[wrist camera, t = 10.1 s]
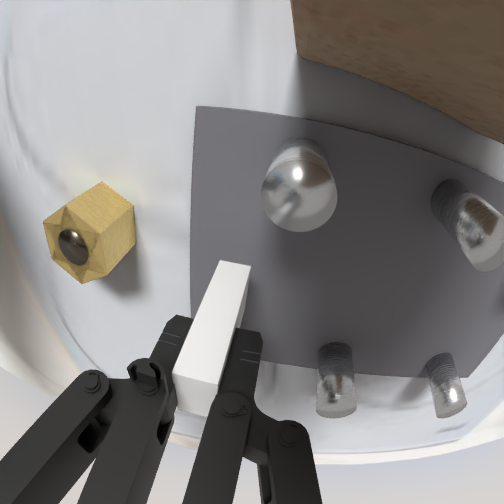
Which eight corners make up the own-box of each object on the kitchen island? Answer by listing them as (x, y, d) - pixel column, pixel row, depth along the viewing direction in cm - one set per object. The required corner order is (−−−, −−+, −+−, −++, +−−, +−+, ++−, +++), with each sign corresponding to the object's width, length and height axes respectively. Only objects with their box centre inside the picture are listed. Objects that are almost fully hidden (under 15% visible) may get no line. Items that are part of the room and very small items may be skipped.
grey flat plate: (193, 341, 21) (192, 345, 21) (199, 105, 12) (196, 106, 12) (466, 374, 19) (467, 377, 19) (562, 215, 11) (565, 218, 10)
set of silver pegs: (202, 340, 20) (183, 392, 16) (211, 124, 12) (171, 142, 9) (459, 372, 19) (471, 415, 15) (550, 222, 11) (589, 259, 7)
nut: (70, 220, 17) (37, 247, 14) (88, 169, 15) (49, 192, 12) (125, 263, 18) (97, 297, 15) (150, 217, 16) (119, 249, 13)
